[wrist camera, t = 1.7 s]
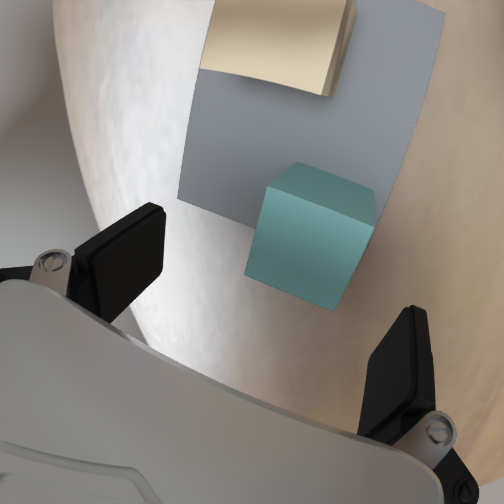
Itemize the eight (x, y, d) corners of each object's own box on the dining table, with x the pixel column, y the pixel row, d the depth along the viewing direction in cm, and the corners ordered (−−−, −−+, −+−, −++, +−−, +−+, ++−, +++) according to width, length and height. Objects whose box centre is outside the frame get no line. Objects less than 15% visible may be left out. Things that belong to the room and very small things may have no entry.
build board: (357, 261, 21) (356, 269, 20) (184, 194, 24) (177, 198, 23) (441, 17, 11) (445, 13, 11) (231, -30, 14) (225, -35, 13)
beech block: (333, 97, 16) (320, 95, 12) (239, 73, 17) (199, 68, 13) (357, 9, 13) (351, -21, 9) (260, -9, 14) (226, -36, 10)
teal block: (346, 257, 20) (333, 312, 15) (277, 230, 21) (244, 274, 16) (374, 190, 17) (374, 227, 13) (297, 161, 18) (267, 186, 14)
